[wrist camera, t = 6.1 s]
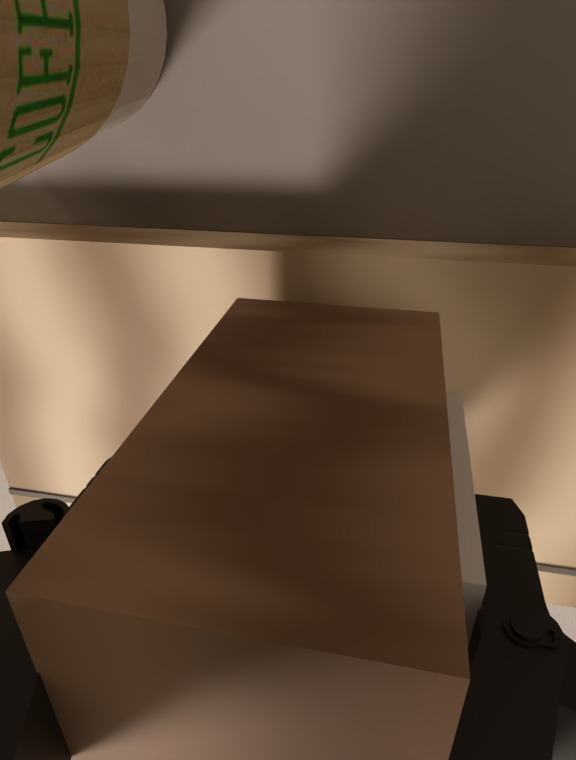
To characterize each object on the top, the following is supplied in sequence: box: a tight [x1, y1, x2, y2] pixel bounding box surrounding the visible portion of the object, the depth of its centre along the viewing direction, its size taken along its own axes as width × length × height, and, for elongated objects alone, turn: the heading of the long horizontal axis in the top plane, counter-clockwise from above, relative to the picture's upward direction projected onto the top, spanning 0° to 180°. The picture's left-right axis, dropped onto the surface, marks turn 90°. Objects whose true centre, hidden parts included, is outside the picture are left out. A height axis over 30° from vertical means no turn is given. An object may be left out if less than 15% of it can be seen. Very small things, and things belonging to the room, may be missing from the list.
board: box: [0, 222, 576, 608], centre depth 21 cm, size 26×14×2 cm, turn 90°
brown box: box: [5, 298, 470, 760], centre depth 14 cm, size 6×12×11 cm, turn 0°
